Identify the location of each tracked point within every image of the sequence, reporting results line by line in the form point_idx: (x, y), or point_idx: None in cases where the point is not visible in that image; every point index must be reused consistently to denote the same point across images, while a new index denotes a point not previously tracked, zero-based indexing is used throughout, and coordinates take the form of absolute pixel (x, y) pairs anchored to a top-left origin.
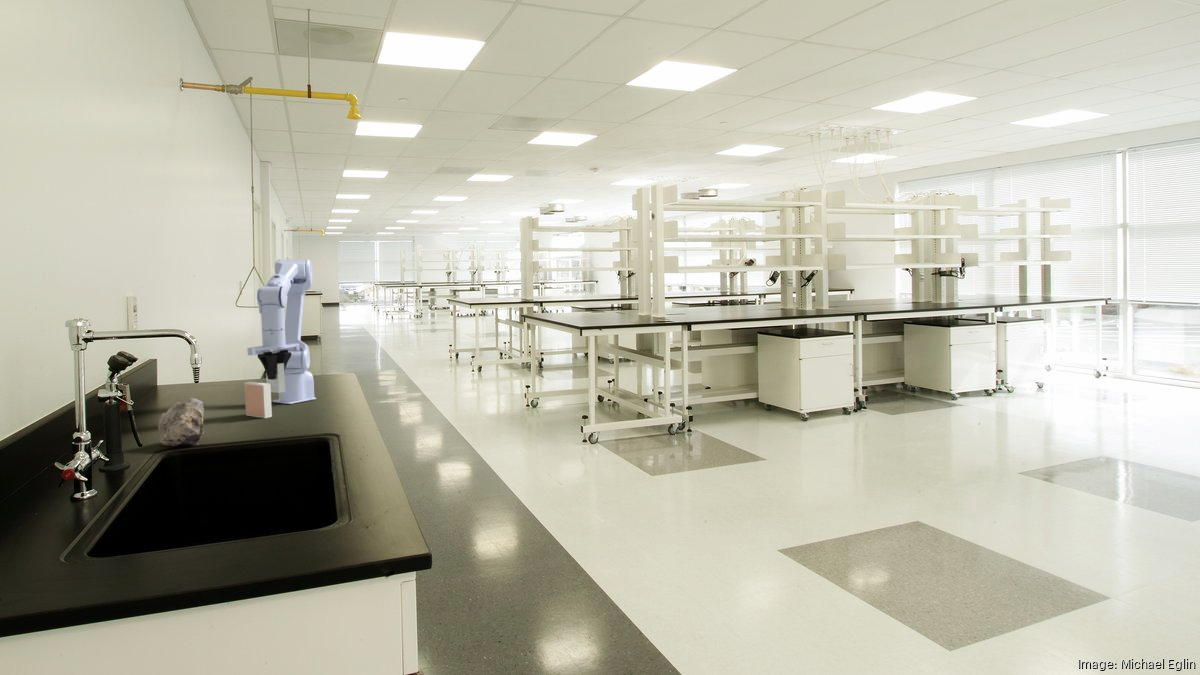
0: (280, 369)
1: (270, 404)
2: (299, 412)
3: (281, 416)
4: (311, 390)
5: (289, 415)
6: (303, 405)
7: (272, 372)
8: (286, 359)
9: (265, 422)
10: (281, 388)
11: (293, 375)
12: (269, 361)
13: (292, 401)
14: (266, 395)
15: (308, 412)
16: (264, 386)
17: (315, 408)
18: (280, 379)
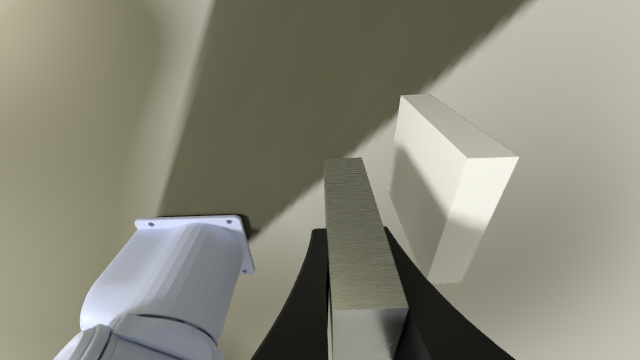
0: (365, 257)
1: (422, 111)
2: (294, 71)
3: (384, 63)
4: (132, 248)
5: (355, 51)
6: (213, 174)
7: (408, 259)
8: (291, 353)
9: (507, 5)
10: (346, 169)
11: (175, 309)
12: (498, 351)
13: (221, 227)
14: (463, 128)
15: (271, 32)
16: (504, 152)
17: (206, 86)
18: (358, 201)
